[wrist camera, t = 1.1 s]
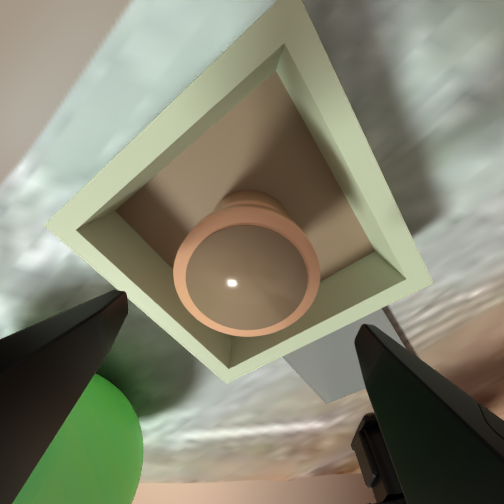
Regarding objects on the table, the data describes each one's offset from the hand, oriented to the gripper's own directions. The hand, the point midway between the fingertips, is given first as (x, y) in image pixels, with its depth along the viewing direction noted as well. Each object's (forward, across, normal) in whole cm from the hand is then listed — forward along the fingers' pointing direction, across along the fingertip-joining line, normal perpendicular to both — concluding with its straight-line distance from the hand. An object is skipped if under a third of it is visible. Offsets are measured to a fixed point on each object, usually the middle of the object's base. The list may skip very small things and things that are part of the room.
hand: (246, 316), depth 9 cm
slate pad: (+10, -11, +11) cm, 19 cm away
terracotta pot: (+9, 0, 0) cm, 9 cm away
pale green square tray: (+10, 0, 0) cm, 10 cm away
